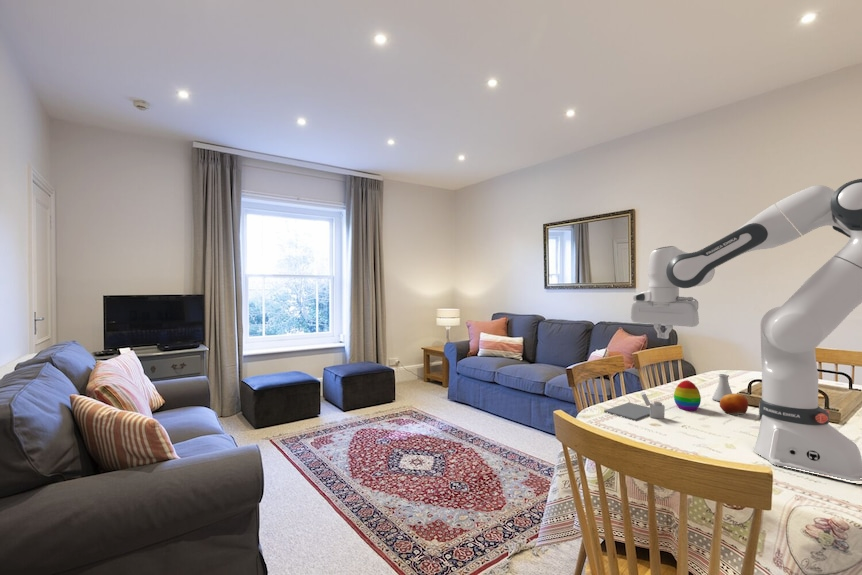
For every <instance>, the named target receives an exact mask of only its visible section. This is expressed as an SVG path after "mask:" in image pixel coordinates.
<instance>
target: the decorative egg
mask: <svg viewBox="0 0 862 575" xmlns="http://www.w3.org/2000/svg"><path fill="white" fill-rule="evenodd" d="M673 392H674V393H673V400H674V402H675V406H676V407H677V408H679V409H680V408H681V410H683V411H696V410H697V409H698V408H699V407H700V406H701V399H702V397H701V393H700V391H699V389H698V387H697V386H696V385H695V383H693V382H692V381H691V380H682V381H681V382H679V384H678V385H677V386H676V387H675V389H674V391H673Z"/></svg>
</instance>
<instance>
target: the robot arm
mask: <svg viewBox="0 0 862 575" xmlns="http://www.w3.org/2000/svg"><path fill="white" fill-rule="evenodd" d="M825 226H832V229H833V230H835V231H836V232H838V233H841V234H843V235H844V236H845V237H847V238H849V240H848V242H847V243H846V244H845V245H844V246H843V247H842V248H841V249H839V251H838V252H837V253H835V254H834V255H833V256H832V257H831V258H830V259H828V261H826V262H825V263H824V264H823V265H822V266H821V267H819V269H817V270H816V271H815V272H814V273H813V274H811V276H810V277H808V278H807V279H806V280H805V281H804V282H803V284H802V285H800V287H799V288H798V289H797V291H796V290H795V292H794V293H793V294H792V296H791V297H789V298H787V299H788V300H786V301H785V302H784V303H783V304H782V305H781V306H777V307H774V308H772V309H770V310H768V311H767V312H765V314H764V315H763V316H762V318H761V320H760V351H761V352H760V356H761V357H760V358H761V398H760V399H759V403H758V415H759V419H760V421H759V422H760V424H759V430H758V435H757V438H756V441H755V444H754V447H753V451H754V452H755V453H756V454H757V455H758V454H759V456H760V455H761V456H760V457H762V458H764V459H766V460H767V461H768V460H769V461H770V462H771V463H770V462H769V461H768V462H769V463H770V464H772V465H773V464H774V466H776V465H777V466H776V467H779V466H787V467H791V468H796V469H801V470H805V471H809V472H814V473H819V474H824V475H829V476H833V477H837V478H841V479H846V480H850V481H862V479H860V478H862V455H861V452H860V449H859V447H858V445H857V443H855V442H854V441H853V440H852V439H850V438H848V437H847V436H845V435H844V434H843V433H841V432H840V431H839V430H838V429H836V428H835V427H833V426H832V425H831V424H830V409H829V410H825V409H824V408H822V407H821V406H820V405H819V372H818V366H817V357H816V355H817V354H816V348H817V347H818V346H819V345H820V344H821V343H822V342H823V341H824V340H825V339H827V337H828V336H829V335H831V334H832V332H834V330H835V329H837V328H838V327H839V326H840V325H841V324H842V323H843V321H844V320H846V318H847V317H848V316H849V315H850V314H852V312H853V311H854V310H855V309H857V307H859V306H860V305H861V304H862V178H858V179H853V180H850V181H848V182H846V183H844V184H843V185H841V186H840V187H838V188H837V189H836V190H834V189H833V188H831V187H829V186H827V185H822V184H817V185H816V184H815V185H811V186H808V187H806V188H804V189H802V190H801V189H800V190H799V191H797V192H795V193H793V194H790V195H788V196H786V197H784V198H782V199H781V200H778V201H776V202H775V203H773V204H772V205H770V206H768V207H767V208H765V209H764V210H762V211H761V212H759V213H757V214H756V215H755V216H753V217H752V218H751V219H750V220H748V221H747V222H745V223H744V224H743V225H741V226H740V227H738V228H736V230H734V231H733V232H731V233H729V234H728V235H726V236H723V237H722V238H720V239H719V240H717V241H714V242H712V244H710V245H707V246H705V247H704V248H701V249H700V250H698V251H693V252H689V253H688V252H686V251H684V250H682V249H679V248H678V247H676V246H674V245H669V246H663V247H657V248H656V249H654V250H652V251H651V252H650V254H649V258H648V266H647V267H648V268H647V270H648V271H647V272H648V273H647V275H648V279H649V281H648V282H649V283H648V285H647V287H648V288H647V290H646V291H643V292H640V293H636V294H634V295H633V296H632V300H633V302H632V304H631V308H630V319H631V321H632V323H641V324H648V325H649V324H650V325H651V324H652V325H653V329H654V330H655V332H656V333H657V335H656V336H657V337H656V338H658V339H663V340H664V339H665V340H667V339H669V338H670V333H671V332H672V330H673V328H674V326H676V327H689V328H690V327H691V328H695V327H697V326H698V325H699V324H700V318H699V311H698V310H699V301H698V300H697V299H696V298H694V297H692V296H680V288H681V289H689V288H693V287H701V286H703V285H707V284H708V283H709V282H711V281H712V279H713V278H714V276H715V270H716V269H715V268H717V267H719V266H721V265H724V264H726V263H727V262H729V261H731V260H733V259H735V258H736V257H737V258H738V257H739V256H741V255H743V254H745V253H750V252H753V251H754V252H755V251H759V250H767V249H773V248H776V247H779V246H783V245H785V244H788V243H791V242H792V241H795V240H797V239H799V238H801V237H802V236H804V235H807V234H808V233H810V232H812V231H814V230H816V229H818V228H821V227H825ZM662 325H663V326H665V327H664V328H665V331H664V332H662V329H661V328H662Z"/></svg>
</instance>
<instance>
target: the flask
mask: <svg viewBox="0 0 862 575" xmlns="http://www.w3.org/2000/svg"><path fill="white" fill-rule="evenodd" d="M718 377H719V378H718V379H719V380H718V385H717V387H716V389H715V392H714V394H713V396H712V398H711V400H712V399H713V400H712V401H715V400H716V402H718V401H720V400H721V398H722V397H723V396H725V395H728V394H733V392H732V389H731V387H730V383H729V377H730V374H725V373H720V374H718Z"/></svg>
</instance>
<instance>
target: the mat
mask: <svg viewBox="0 0 862 575" xmlns="http://www.w3.org/2000/svg"><path fill="white" fill-rule="evenodd" d="M606 412H608V413H607V414H609V413H612V414H611V415H613V414H616V415H619V416H618V417H620V416H622V417H621V418H624V417H625V418H624V419H627V418H628V420H631V419H632V420H631V421H634V420H636V421H638V420H641V419H643V418H646V417H648V416H649V417H650V406H649V407H648V406H645V405H641V404H637V403H633V402H626V403H624V404H623V403H622V404H619V405H617V406H613V407H611V408H608V409H607V408H606V409H604V413H606ZM616 415H615V416H616Z"/></svg>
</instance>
